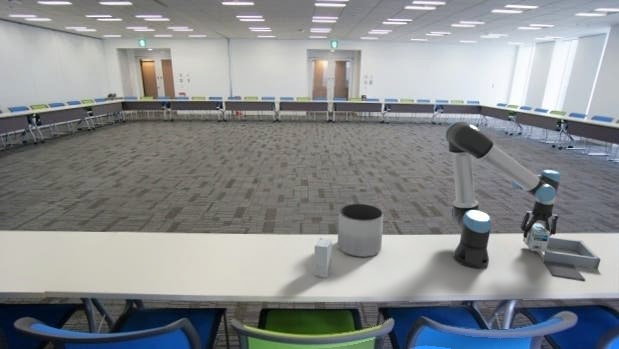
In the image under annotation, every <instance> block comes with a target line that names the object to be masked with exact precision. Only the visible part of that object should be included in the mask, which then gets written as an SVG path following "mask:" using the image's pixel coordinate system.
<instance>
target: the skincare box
mask: <svg viewBox="0 0 619 349" xmlns="http://www.w3.org/2000/svg"><path fill="white" fill-rule="evenodd" d="M332 244H333V243H332V239H329V238H323V237H320V238H318V239H317V241H316V243H315V244H314V276H315V277H319V278H325V279H327V278H328V276H329V274H330V272H331V270H332Z"/></svg>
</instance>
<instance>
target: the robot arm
mask: <svg viewBox="0 0 619 349" xmlns="http://www.w3.org/2000/svg"><path fill="white" fill-rule="evenodd" d="M484 133H485V132H483V131H481V129H479V128H478V126H477V127H476V125H473V124H470V123H469V122H467V121H461V120H460V121H459V120H458V121H454V122H453V123H451V124H450V125H448V127H447V128H446V130H445V139H446V141H447V144H448V152H449V153H450V154H451V155H452V164H453V165H452V166H453V176H454V178H453V179H454V189H455V190H454V191H455V200H454V201H452V208H451V211H450V213H451V217H452V219H453V221H454V223H455V224H456V225H457V226H458V228H459V229H460V232H461V233H460V238H459V239H460V240H459V243H458V245H457V246H456V248H455V250H454V252H453V259H454V261H456V262H457V263H458V264H460V265H462V266H464V267H468V268H471V269H483V268H487V267H488V266H489V264H490V258H489V253H488V244H489V238H490V234H491V228H492V217H491V216H490V215H489V214H488V213H486V212H483V211H482V210H481V211H480V208H479V206H480V205H479V201H478V200H477V199H476V198H475V197H476V195H475V178H474V176H475V174H474V161H473V159H474V158H475V159H478V160H482V161H484V162H486V163H487V165H489V166H491V167H492V168H494V170H496V171H498V172H499V173H501V174H502V175H503V176H504V177H506V178H507V179H509V180H510V181H511V187H512V188H513V189H515V190H519V191H520V190H523V191H525V192H527V193H528V194H530V195H531V196H532V197H534V199H535V201H534V205H533V209H532V210H531V211H530V210H529V211H528V210H525V211H524V217H523V219H522V222H521V226H520V229H521V231H523V235H522V236H523V238H525V239H524V241H523V243H524V245H526V246H527V243H528V239H529V235H530V232H529V230H530V229H531V228H532V226H533V225H534V224H535V223H537V222H538V221H542V222H543V224H544V228H546V229H547V230H548V231H549V232H550V237H552V235H553V236H555V234H556V232H557V223H558V219H559V216H558V215H557V213H553V209H554V206H555V205H554V204H555V203H556V202H555V201H556V199H557V198H556V197H557V194H558V189H559V185H560V183H561V176H562V175H561V173H560V172H559V171H557V170H553V169H552V170H550V169H544V170H542V171H541V173H540V174H534V173H533V172H532V171H530V170H529V169H527V167H525V166H524V165H522V164H521V163H519V162H518V161H516V160H515V159H514V158H513V157H512V156H510V155H509V154H507V153H506V152H504V151H503V150H501V149H500V148H499V147H498V146H496V145H495V142H494V140H492V139H491V138H490V137H488V136H487V135H486V134H484ZM473 157H474V158H473ZM531 216H532V217H531ZM530 217H531V220H529V219H530ZM550 218H551V225H550V224H549V219H550ZM527 222H529V223H528V225H527ZM526 225H527V226H526ZM550 237H549V238H550Z"/></svg>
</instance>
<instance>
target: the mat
mask: <svg viewBox="0 0 619 349" xmlns="http://www.w3.org/2000/svg"><path fill="white" fill-rule="evenodd" d="M542 261H543V260H542ZM543 264H544V265H545V266H546V268H547V269H548V271H549V273H550V274H551V275H552V277H558V278H564V279H565V278H566V279H571V280H577V281H578V280H579V281H586V279H585V277H584V276H583V275H582V274H581V272H580V271H579V270H578V269H577V267H576V266H574V265H570V264H563V263H556V262H549V261H543Z"/></svg>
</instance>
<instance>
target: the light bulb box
mask: <svg viewBox="0 0 619 349" xmlns="http://www.w3.org/2000/svg"><path fill="white" fill-rule="evenodd" d="M529 222H530V221H528V222H527V225H528V223H529ZM527 225H526V226H527ZM529 232H530V235H529V239H528V243H527V245H526V246H527V247H528V248H529V250H530V251H532V252H537V251H540V252H542V253H545V251H547V249H548V246H547V245H548V241H549V237H551V236H550V232H549V231H548V230H547V229H546V228H545V226H543V224H542V223H539V222H538V223H537V222H535V224H534V225H533V226H532V228H531V229H530V230H529ZM524 239H525V238H524V237H523V238H522V242H524Z"/></svg>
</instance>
